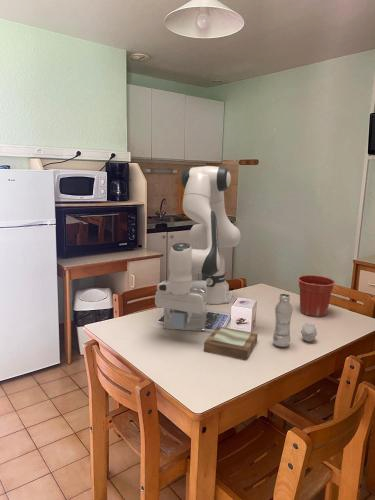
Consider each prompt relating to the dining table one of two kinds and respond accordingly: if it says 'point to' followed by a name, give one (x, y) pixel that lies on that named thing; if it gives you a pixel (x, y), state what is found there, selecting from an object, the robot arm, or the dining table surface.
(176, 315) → the slate block
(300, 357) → the dining table surface
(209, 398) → the dining table surface
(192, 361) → the dining table surface
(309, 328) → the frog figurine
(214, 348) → the walnut stand
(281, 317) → the plastic bottle
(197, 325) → the supplement box
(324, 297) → the flower pot
